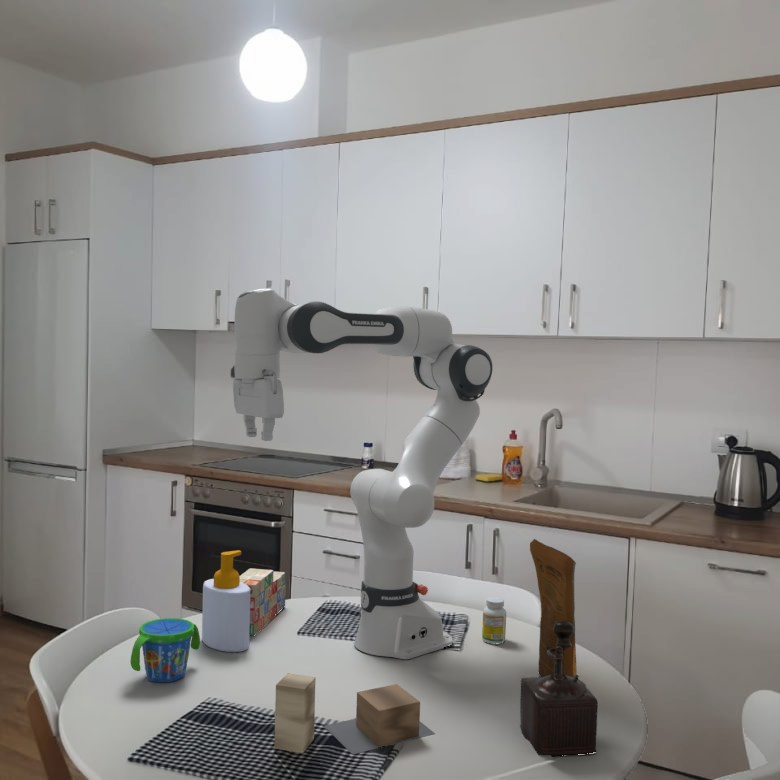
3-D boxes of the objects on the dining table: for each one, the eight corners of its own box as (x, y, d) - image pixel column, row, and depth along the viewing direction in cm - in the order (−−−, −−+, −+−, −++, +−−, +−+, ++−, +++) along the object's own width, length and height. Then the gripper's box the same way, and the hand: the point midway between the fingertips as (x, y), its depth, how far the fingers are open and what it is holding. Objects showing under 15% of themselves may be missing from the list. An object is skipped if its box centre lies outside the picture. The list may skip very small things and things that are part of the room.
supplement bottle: (497, 646, 179) (498, 604, 179) (477, 640, 183) (478, 599, 182) (509, 640, 183) (511, 599, 183) (490, 634, 187) (491, 594, 186)
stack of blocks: (262, 605, 203) (263, 558, 203) (285, 608, 202) (286, 560, 201) (228, 634, 182) (229, 581, 182) (254, 637, 181) (255, 583, 181)
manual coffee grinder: (601, 755, 132) (606, 648, 131) (537, 758, 130) (541, 650, 129) (567, 712, 147) (570, 617, 146) (509, 715, 145) (513, 618, 145)
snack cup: (184, 658, 167) (184, 610, 167) (214, 672, 160) (215, 623, 160) (116, 680, 155) (116, 628, 155) (145, 696, 149) (146, 643, 148)
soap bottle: (258, 646, 175) (261, 555, 174) (228, 656, 169) (230, 562, 168) (222, 631, 184) (224, 544, 183) (192, 640, 177) (193, 550, 177)
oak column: (286, 736, 135) (287, 673, 134) (313, 741, 133) (315, 677, 133) (274, 750, 130) (275, 684, 129) (302, 755, 129) (304, 689, 128)
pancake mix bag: (553, 704, 150) (558, 558, 149) (522, 665, 169) (527, 535, 168) (587, 703, 151) (593, 558, 150) (553, 664, 170) (558, 535, 169)
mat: (402, 709, 146) (402, 707, 146) (435, 735, 137) (435, 733, 137) (323, 727, 138) (323, 725, 138) (352, 756, 129) (352, 754, 129)
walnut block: (395, 716, 142) (396, 683, 142) (419, 735, 135) (420, 701, 135) (356, 725, 138) (357, 692, 138) (378, 746, 132) (379, 710, 131)
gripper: (291, 369, 151) (292, 442, 152) (256, 369, 169) (257, 434, 170) (259, 370, 148) (261, 444, 149) (227, 370, 166) (229, 435, 167)
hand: (259, 438), depth 160 cm, fingers open, 8 cm apart
